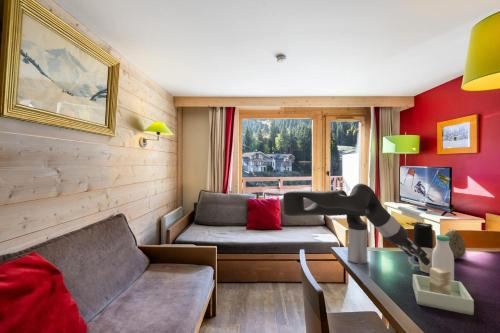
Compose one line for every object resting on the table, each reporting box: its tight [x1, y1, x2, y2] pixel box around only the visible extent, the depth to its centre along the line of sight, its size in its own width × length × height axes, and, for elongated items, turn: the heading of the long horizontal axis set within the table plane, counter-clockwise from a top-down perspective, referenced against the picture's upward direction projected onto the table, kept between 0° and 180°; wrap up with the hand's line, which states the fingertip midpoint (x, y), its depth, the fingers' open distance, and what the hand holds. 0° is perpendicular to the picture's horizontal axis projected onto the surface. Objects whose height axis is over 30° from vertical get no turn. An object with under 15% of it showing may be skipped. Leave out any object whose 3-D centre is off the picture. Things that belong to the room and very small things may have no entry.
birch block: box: [429, 268, 451, 295], centre depth 99 cm, size 4×4×10 cm
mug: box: [407, 247, 434, 274], centre depth 125 cm, size 8×13×10 cm, turn 78°
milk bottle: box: [432, 234, 455, 281], centre depth 113 cm, size 8×8×20 cm
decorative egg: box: [444, 230, 467, 260], centre depth 142 cm, size 11×11×15 cm
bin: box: [412, 273, 475, 316], centre depth 99 cm, size 16×16×5 cm
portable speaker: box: [412, 221, 434, 261], centre depth 139 cm, size 9×9×20 cm
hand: (419, 259), depth 97 cm, fingers open, 8 cm apart
